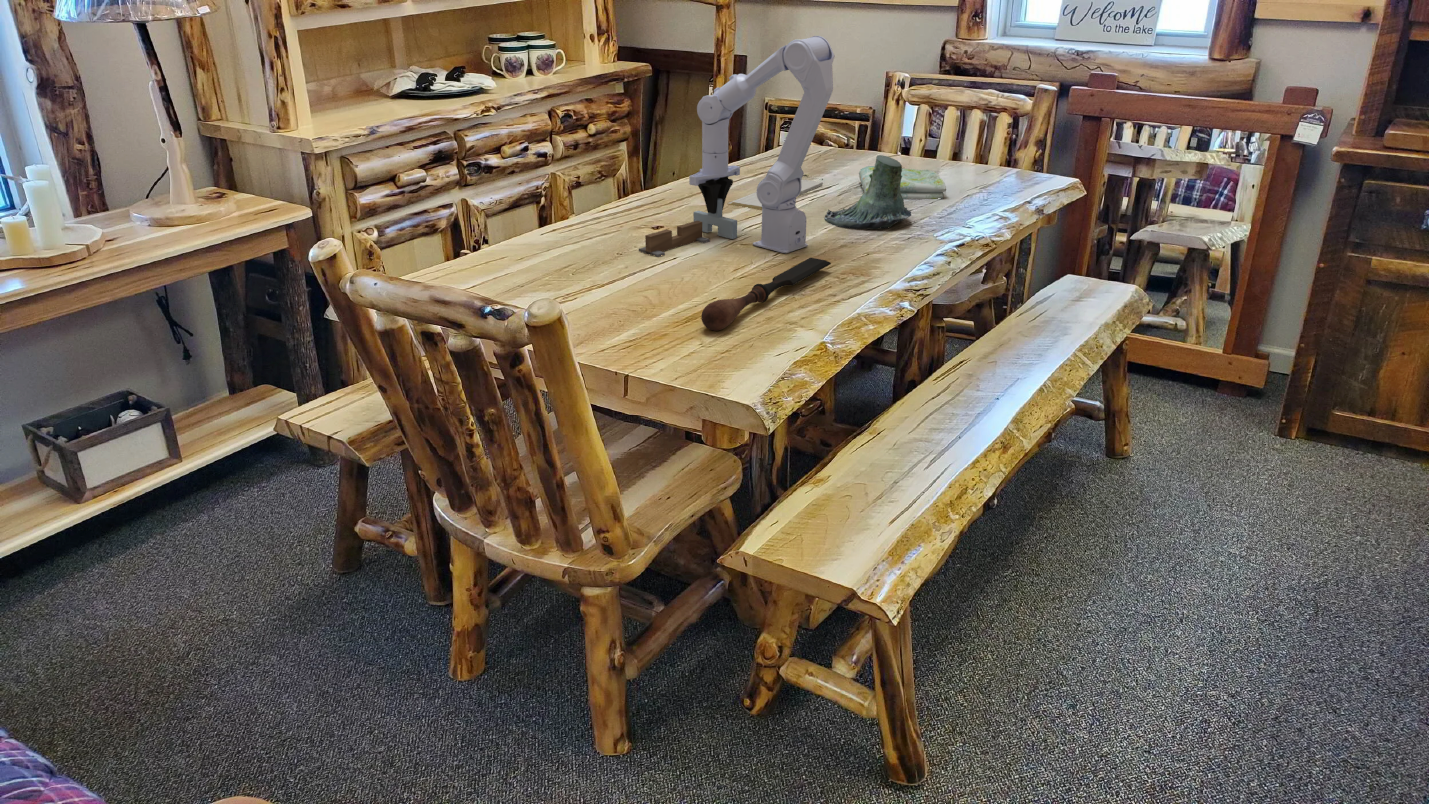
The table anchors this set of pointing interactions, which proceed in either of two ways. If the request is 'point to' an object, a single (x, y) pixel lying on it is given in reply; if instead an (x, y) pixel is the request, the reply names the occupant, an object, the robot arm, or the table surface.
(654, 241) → the walnut slotted plate
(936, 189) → the towel
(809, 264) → the chisel
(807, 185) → the baseboard molding
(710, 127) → the robot arm
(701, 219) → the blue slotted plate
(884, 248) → the table surface
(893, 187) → the tree stump
